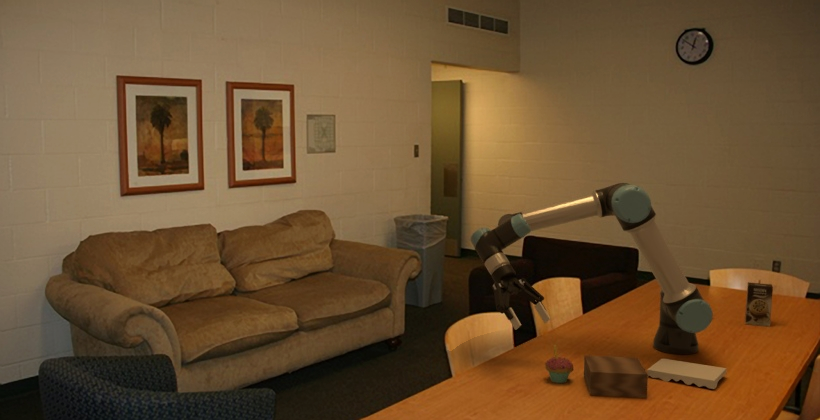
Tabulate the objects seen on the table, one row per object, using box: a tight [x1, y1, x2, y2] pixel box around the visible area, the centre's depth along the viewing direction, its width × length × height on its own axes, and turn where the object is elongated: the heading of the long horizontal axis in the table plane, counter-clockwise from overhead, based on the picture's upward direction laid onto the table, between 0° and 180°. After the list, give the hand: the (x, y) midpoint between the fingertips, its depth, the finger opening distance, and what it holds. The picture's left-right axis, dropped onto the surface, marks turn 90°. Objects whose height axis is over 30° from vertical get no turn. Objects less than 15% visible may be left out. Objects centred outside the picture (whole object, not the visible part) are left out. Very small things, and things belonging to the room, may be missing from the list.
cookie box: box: [744, 282, 774, 327], centre depth 300 cm, size 9×6×16 cm
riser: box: [583, 355, 649, 399], centre depth 225 cm, size 16×16×7 cm
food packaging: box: [646, 358, 727, 390], centre depth 235 cm, size 15×3×20 cm
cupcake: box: [544, 343, 575, 384], centre depth 230 cm, size 9×8×12 cm
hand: (533, 324), depth 238 cm, fingers open, 13 cm apart
